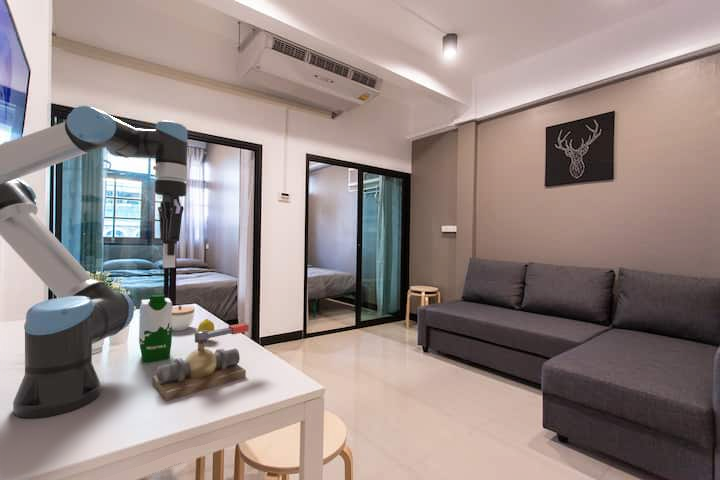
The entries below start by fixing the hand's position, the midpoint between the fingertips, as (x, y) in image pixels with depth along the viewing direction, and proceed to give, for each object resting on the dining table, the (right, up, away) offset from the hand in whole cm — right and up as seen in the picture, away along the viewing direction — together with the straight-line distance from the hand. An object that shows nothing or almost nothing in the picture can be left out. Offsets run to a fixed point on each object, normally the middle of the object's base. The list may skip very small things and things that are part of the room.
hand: (168, 267), depth 93 cm
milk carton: (-12, -30, +14) cm, 35 cm away
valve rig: (+9, -31, -1) cm, 32 cm away
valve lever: (+13, -20, +4) cm, 24 cm away
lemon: (-4, -30, +32) cm, 44 cm away
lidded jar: (-21, -29, +45) cm, 58 cm away
